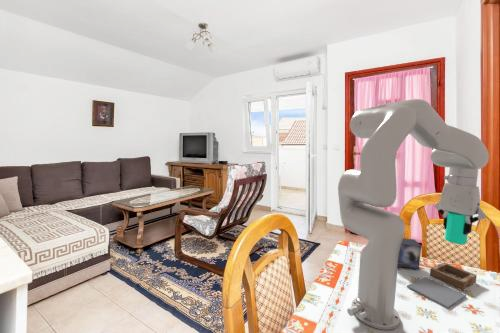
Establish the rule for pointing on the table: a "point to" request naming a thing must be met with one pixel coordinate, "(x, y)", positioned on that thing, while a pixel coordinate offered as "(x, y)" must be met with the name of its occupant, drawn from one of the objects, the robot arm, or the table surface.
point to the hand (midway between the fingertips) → (456, 230)
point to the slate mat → (436, 292)
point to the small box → (409, 254)
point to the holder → (462, 284)
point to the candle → (455, 228)
